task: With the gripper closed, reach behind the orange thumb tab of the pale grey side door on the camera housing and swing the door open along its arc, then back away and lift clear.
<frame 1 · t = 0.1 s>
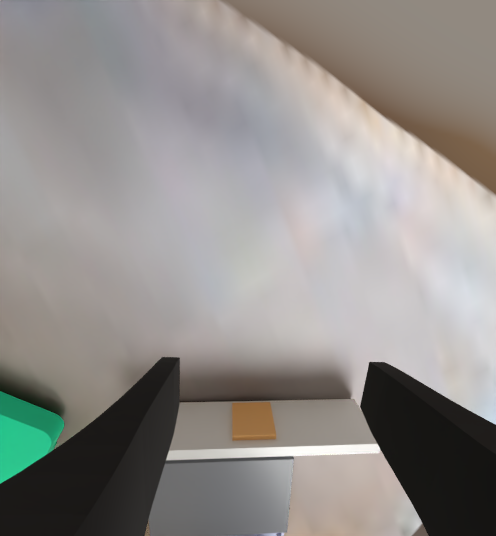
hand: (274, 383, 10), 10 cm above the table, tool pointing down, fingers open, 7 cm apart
camera housing: (222, 443, 23), on the table
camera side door: (259, 424, 20), point 2 cm above the table, hinge at 0.0°
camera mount: (4, 440, 22), on the table
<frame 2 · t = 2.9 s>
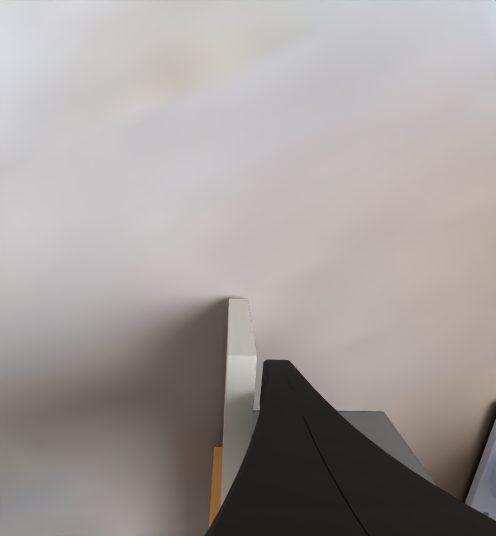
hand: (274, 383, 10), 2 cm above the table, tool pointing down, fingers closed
camera housing: (305, 486, 15), on the table
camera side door: (225, 497, 11), point 2 cm above the table, hinge at 0.5°, touching gripper
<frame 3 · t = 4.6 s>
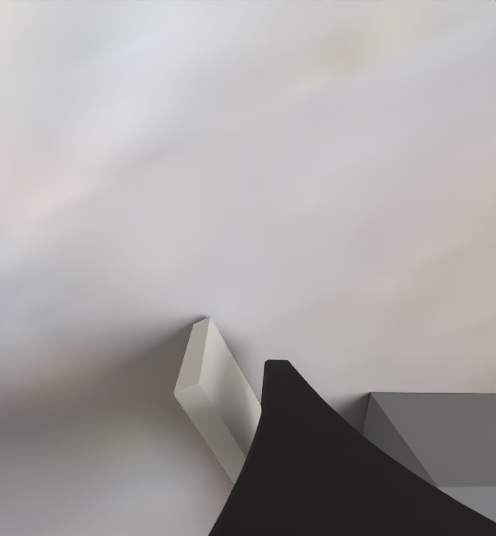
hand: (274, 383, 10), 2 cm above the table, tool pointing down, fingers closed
camera housing: (414, 469, 15), on the table
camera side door: (281, 498, 12), point 2 cm above the table, hinge at 29.0°, touching gripper
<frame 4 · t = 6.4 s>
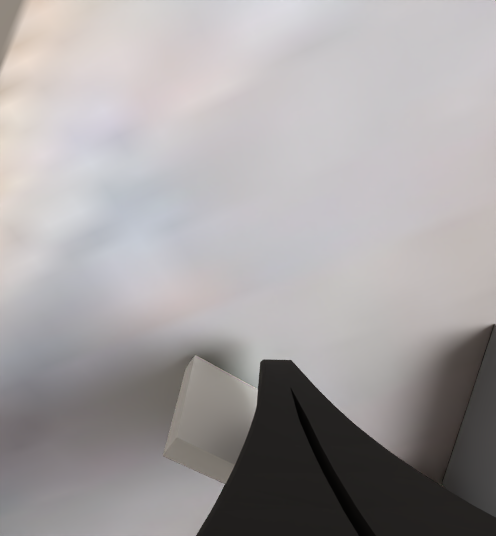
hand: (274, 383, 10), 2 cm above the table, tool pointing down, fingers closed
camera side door: (345, 482, 11), point 2 cm above the table, hinge at 59.3°, touching gripper
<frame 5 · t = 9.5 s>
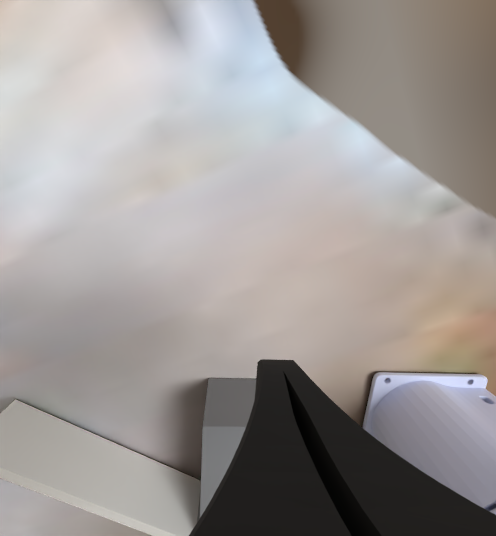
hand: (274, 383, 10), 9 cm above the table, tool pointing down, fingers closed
camera housing: (249, 430, 22), on the table
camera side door: (101, 475, 19), point 2 cm above the table, hinge at 59.5°
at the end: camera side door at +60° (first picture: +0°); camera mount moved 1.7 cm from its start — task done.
